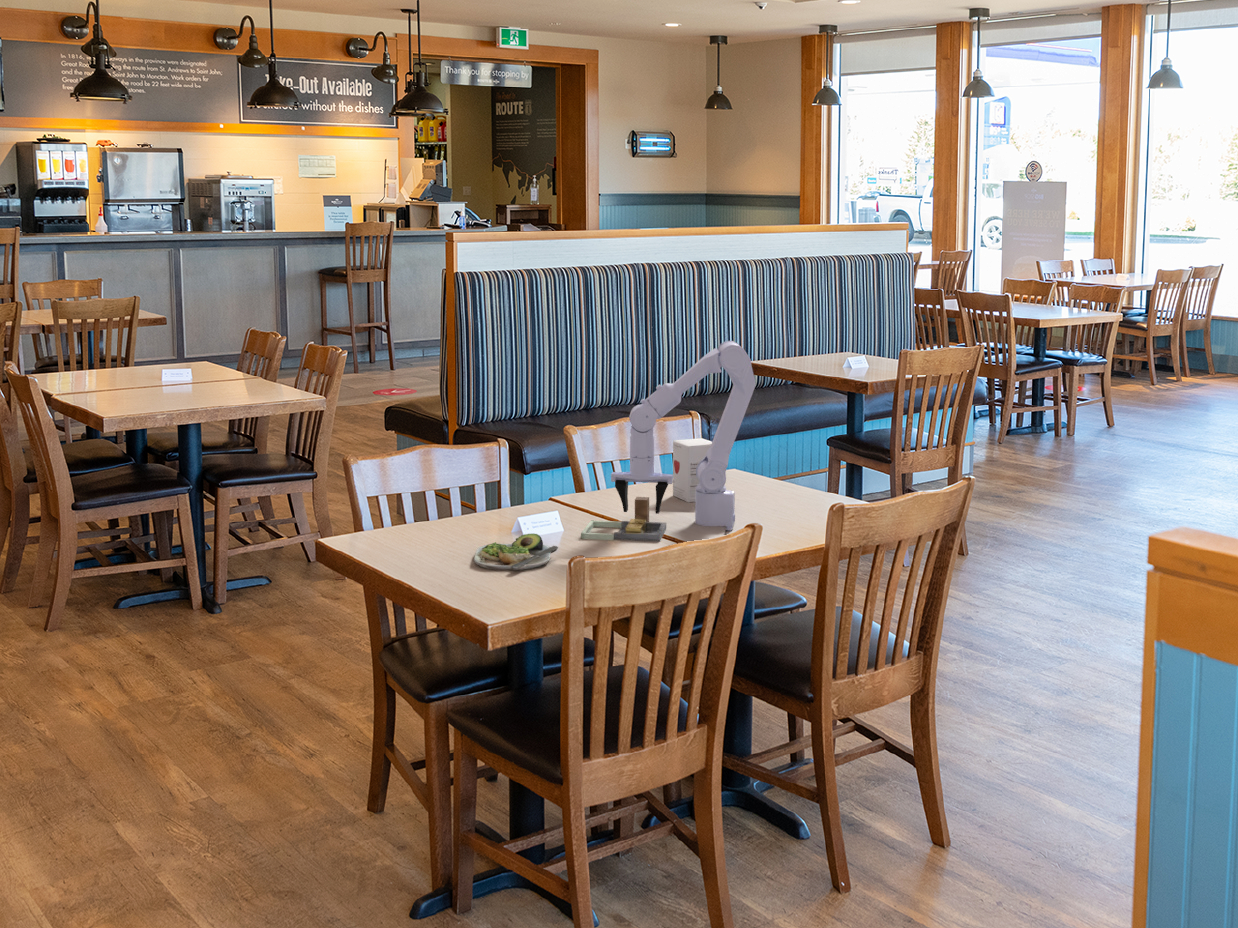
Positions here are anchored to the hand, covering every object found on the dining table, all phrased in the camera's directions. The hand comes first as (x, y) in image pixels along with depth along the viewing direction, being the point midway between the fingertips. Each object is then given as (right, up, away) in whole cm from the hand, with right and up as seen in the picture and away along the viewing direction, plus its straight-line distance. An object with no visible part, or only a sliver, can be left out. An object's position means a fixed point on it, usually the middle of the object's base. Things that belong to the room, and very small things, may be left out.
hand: (641, 511), depth 292 cm
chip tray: (-9, -5, -8) cm, 13 cm away
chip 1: (-2, -5, -12) cm, 13 cm away
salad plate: (-28, -10, -25) cm, 39 cm away
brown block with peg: (0, -4, +1) cm, 4 cm away
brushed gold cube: (-1, -4, -7) cm, 9 cm away
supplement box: (+15, +2, +30) cm, 34 cm away
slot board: (0, -6, -9) cm, 11 cm away
